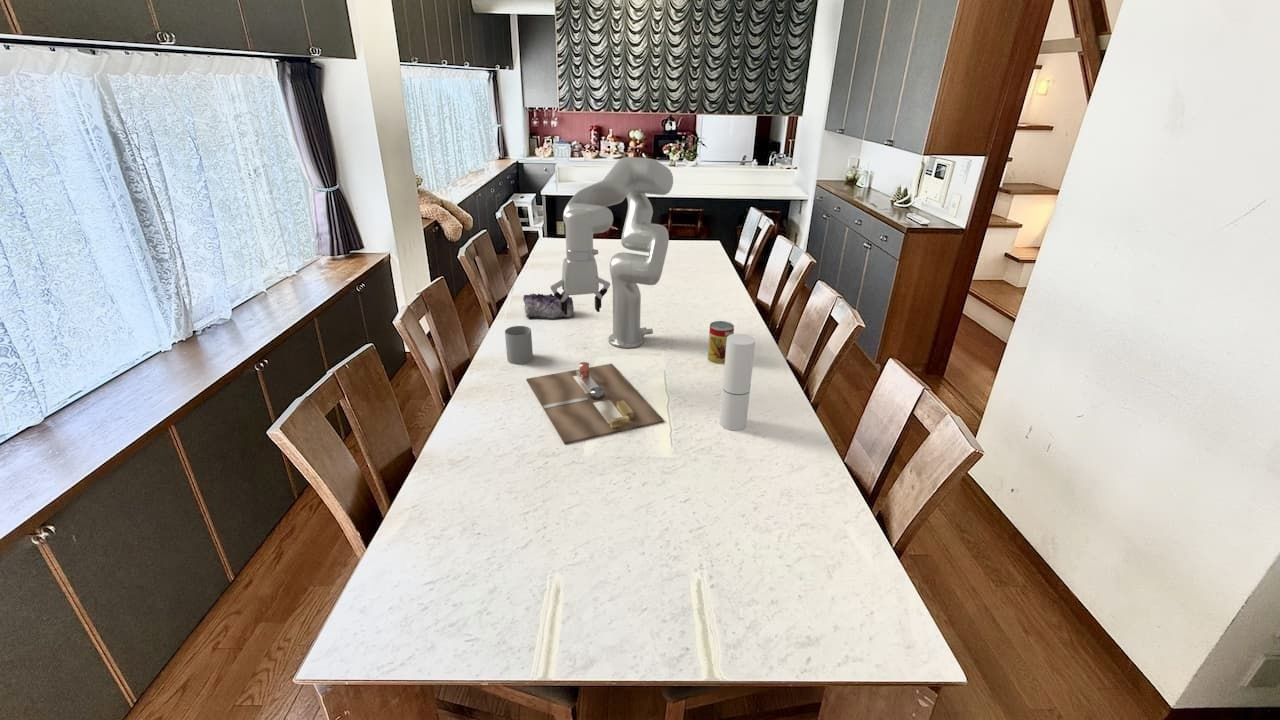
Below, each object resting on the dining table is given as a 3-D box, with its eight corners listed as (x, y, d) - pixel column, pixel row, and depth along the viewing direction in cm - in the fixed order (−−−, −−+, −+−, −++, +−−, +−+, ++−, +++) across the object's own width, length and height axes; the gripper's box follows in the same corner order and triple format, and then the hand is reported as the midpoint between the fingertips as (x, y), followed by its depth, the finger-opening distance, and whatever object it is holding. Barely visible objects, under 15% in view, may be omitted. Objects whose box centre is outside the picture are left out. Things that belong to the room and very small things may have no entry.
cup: (527, 365, 193) (525, 336, 188) (503, 362, 194) (500, 334, 190) (536, 354, 200) (534, 327, 196) (513, 352, 202) (511, 324, 197)
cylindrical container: (748, 419, 164) (757, 335, 154) (743, 432, 158) (752, 346, 148) (722, 414, 166) (729, 331, 156) (717, 427, 160) (724, 342, 150)
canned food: (730, 365, 195) (733, 331, 190) (706, 362, 197) (708, 328, 192) (731, 355, 202) (734, 322, 197) (708, 352, 204) (711, 320, 199)
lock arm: (606, 397, 172) (606, 381, 170) (593, 400, 171) (593, 383, 169) (586, 373, 186) (586, 357, 184) (574, 375, 185) (573, 359, 183)
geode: (576, 310, 239) (576, 287, 234) (573, 324, 229) (572, 301, 224) (525, 307, 239) (524, 284, 233) (519, 321, 229) (518, 298, 224)
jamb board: (611, 365, 194) (611, 357, 193) (663, 421, 163) (663, 413, 161) (526, 380, 183) (526, 372, 182) (564, 444, 152) (564, 435, 151)
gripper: (606, 249, 174) (606, 305, 181) (547, 253, 169) (549, 310, 177) (613, 256, 168) (613, 313, 175) (551, 260, 163) (554, 319, 170)
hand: (581, 311), depth 176 cm, fingers open, 9 cm apart
